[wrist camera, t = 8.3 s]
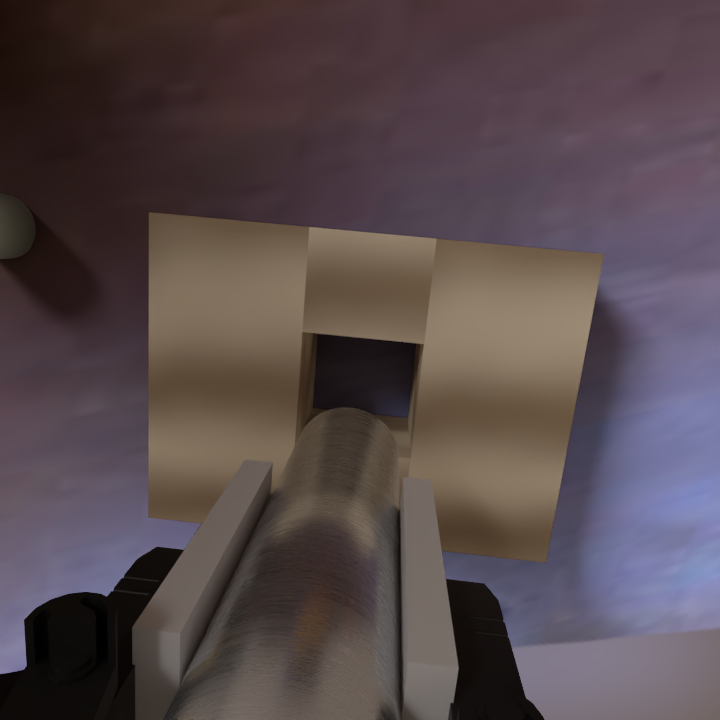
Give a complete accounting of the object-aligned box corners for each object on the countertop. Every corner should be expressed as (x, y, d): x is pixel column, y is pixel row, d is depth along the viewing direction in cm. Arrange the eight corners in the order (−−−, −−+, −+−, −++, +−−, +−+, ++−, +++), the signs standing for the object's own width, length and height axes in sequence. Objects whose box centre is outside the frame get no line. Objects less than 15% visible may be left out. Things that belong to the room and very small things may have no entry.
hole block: (196, 216, 30) (149, 212, 24) (562, 250, 29) (603, 254, 24) (191, 468, 34) (148, 517, 28) (519, 504, 33) (545, 562, 27)
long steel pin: (298, 402, 19) (-171, 1211, 3) (404, 412, 19) (446, 1317, 3) (292, 497, 20) (-108, 1516, 4) (392, 509, 19) (382, 1608, 4)
